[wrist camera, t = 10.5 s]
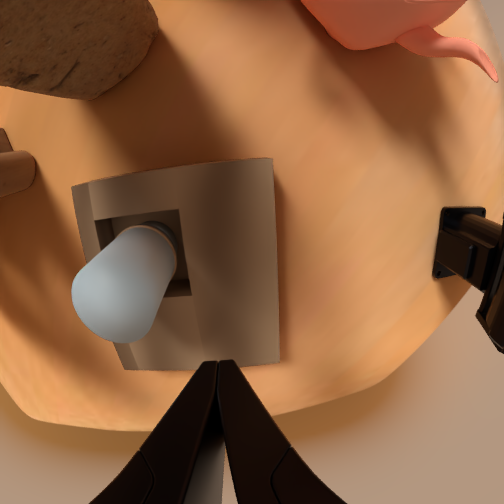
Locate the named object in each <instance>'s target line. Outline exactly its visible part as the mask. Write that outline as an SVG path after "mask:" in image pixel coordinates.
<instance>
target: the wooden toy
mask: <svg viewBox="0 0 504 504" xmlns="http://www.w3.org/2000/svg"><path fill="white" fill-rule="evenodd" d="M35 170H36V168H35V162H34V159H33V157H32V156H31V154H30V153H28V152H27V151H13V150H12V148H11V146H10V143H9V141H8V139H7V136H6V134H5V132H4V129H3V128H0V198H1V197H4V196H7V195H10V194H13V193H16V192H19V191H22V190H25V189H27V188H28V187H29V186H30V185H31V183H32V181H33V179H34V176H35Z"/></svg>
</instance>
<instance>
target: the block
mask: <svg viewBox="0 0 504 504" xmlns="http://www.w3.org/2000/svg"><path fill="white" fill-rule="evenodd" d="M157 33H158V18H157V16H156V14H155V11H154V9H153V7H152V5H151V4H150V2H149V1H148V0H0V86H5V87H6V86H8V87H11V88H15V89H19V90H23V91H28V92H34V93H40V94H45V95H50V96H56V97H62V98H70V99H81V100H93V99H95V98H97V97H98V96H100V95H101V94H103V93H104V92H105V91H107V90H108V89H110V88H111V87H113V86H114V85H116V84H117V83H118V82H120V81H121V80H122V79H123V78H124V77H126V76H127V75H128V74H129V73H131V72H132V71H133V70H134V69H135V68H136V67H137V66H138V65H139V64H140V63H141V61H142V59H143V58H144V57H145V56H146V55H147V52H148V47H149V46H150V44H151V43H152V41H153V40H154V38H155V36H156V35H157Z"/></svg>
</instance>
